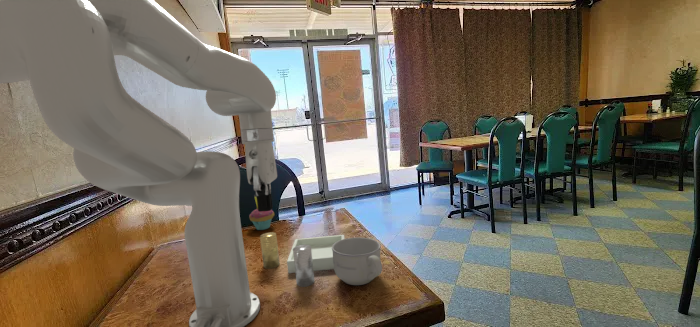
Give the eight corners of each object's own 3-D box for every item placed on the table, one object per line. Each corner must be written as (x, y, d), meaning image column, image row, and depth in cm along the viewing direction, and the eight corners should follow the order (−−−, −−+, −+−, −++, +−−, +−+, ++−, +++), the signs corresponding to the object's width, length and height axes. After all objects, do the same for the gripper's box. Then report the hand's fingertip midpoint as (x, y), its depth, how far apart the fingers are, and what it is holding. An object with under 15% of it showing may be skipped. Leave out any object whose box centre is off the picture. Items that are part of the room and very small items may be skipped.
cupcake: (245, 231, 105) (241, 198, 103) (259, 223, 113) (255, 191, 111) (267, 232, 102) (263, 198, 101) (280, 223, 110) (276, 191, 109)
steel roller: (313, 285, 66) (310, 251, 65) (295, 287, 66) (291, 252, 65) (315, 276, 70) (311, 243, 69) (298, 278, 70) (294, 245, 69)
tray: (346, 267, 73) (345, 256, 73) (288, 273, 73) (286, 261, 72) (345, 244, 87) (344, 234, 87) (296, 249, 87) (295, 239, 86)
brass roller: (277, 267, 76) (274, 237, 75) (261, 269, 76) (258, 239, 75) (281, 260, 80) (277, 231, 79) (265, 261, 80) (262, 233, 79)
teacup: (328, 273, 71) (325, 241, 70) (370, 262, 75) (368, 231, 74) (349, 305, 58) (346, 266, 57) (398, 290, 62) (396, 253, 61)
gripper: (264, 136, 66) (273, 217, 68) (279, 135, 81) (286, 202, 83) (230, 139, 66) (240, 220, 68) (252, 137, 81) (259, 204, 83)
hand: (265, 210), depth 76 cm, fingers closed
